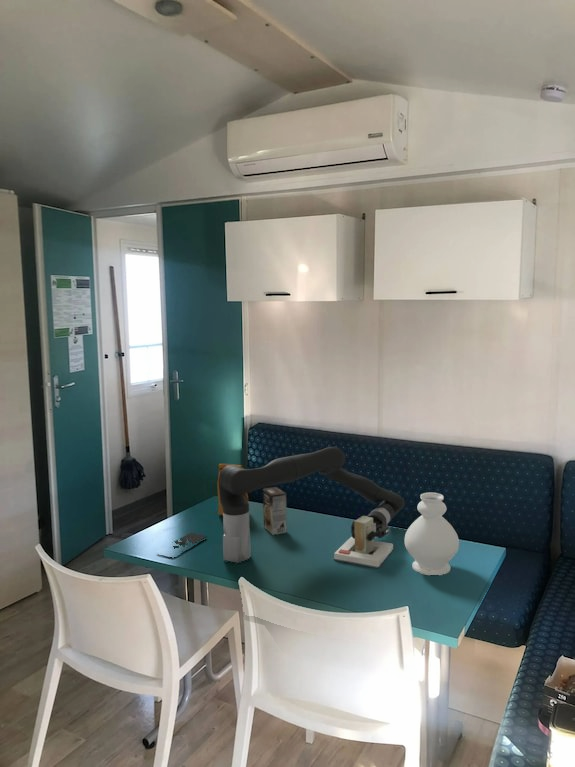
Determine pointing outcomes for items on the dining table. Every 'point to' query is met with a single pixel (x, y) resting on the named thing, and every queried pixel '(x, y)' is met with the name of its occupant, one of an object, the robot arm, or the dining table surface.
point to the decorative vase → (431, 537)
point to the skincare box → (363, 535)
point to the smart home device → (193, 537)
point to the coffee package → (218, 487)
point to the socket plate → (371, 560)
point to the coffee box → (274, 510)
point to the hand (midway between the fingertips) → (361, 537)
